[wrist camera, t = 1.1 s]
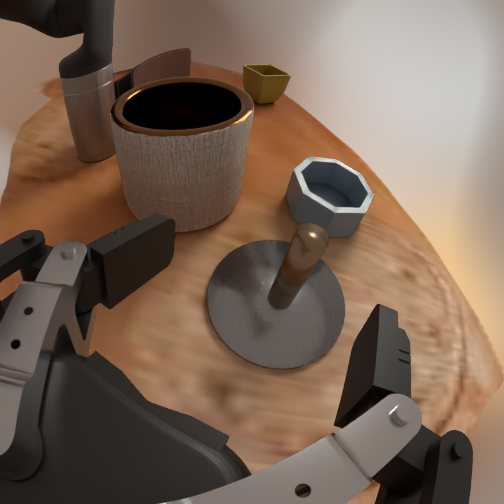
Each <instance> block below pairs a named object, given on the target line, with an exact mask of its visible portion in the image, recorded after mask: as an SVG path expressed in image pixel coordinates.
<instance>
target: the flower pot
mask: <svg viewBox="0 0 504 504" xmlns="http://www.w3.org/2000/svg"><path fill="white" fill-rule="evenodd" d="M290 76H291V75H290V74H288V73H287V72H285V71H282V70H281V69H279V68H277V67H275V66H273V65H271V64H257V65H256V64H254V65H243V85H244V88H245V91H246V92H247V93H248V94H249V95H250V97H251V98H252V100H254V101H255V102H257V103H258V104H262V103H271V102H275V101H276V100H277V99H279V98H280V97H281V95H282V94H283V93H284V91H285V89H286V87H287V84H288V82H289V80H290Z"/></svg>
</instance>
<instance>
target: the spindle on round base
mask: <svg viewBox="0 0 504 504" xmlns="http://www.w3.org/2000/svg"><path fill="white" fill-rule="evenodd" d="M328 244H329V237H328V235H327V233H326V232H325V230H324V229H323V228H321V227H320V226H318V225H316V224H313V223H303V224H301V225H299V226H298V227H297V229H296V231H295V233H294V236H293V238H292V240H291V243H288V242H284V241H276V240H263V241H256V242H251V243H248V244H245V245H243V246H241V247H239V248H237V249H235V250H233V251H232V252H230V253H229V254H228V255H227V256H226V257H225V258H223V260H222V261H221V262H220V263H219V264H218V266H217V267H216V269H215V270H214V272H213V275H212V277H211V279H210V283H209V287H208V295H207V302H208V311H209V316H210V319H211V322H212V325H213V327H214V329H215V331H216V333H217V334H218V336H219V337H220V339H221V340H222V341H223V342H224V344H225V345H226V346H227V347H228V348H229V349H230V350H232V351H233V352H234V353H235V354H236V355H238V356H239V357H241V358H243V359H244V360H246V361H248V362H250V363H252V364H255V365H258V366H261V367H265V368H271V369H292V368H297V367H301V366H304V365H306V364H309V363H311V362H313V361H314V360H316V359H318V358H319V357H321V356H322V355H323V354H325V353H326V352H327V351H328V350H329V349H330V348H331V347H332V346H333V344H334V343H335V341H336V340H337V338H338V336H339V334H340V332H341V330H342V327H343V323H344V317H345V303H344V297H343V293H342V290H341V287H340V285H339V282H338V281H337V279H336V277H335V275H334V274H333V272H332V271H331V270H330V268H329V267H328V266H327V265H326V264H325V263H324V262H323V261H322V260H321V259H320V258H321V256H322V254H323V253H324V251H325V249H326V248H327V246H328Z"/></svg>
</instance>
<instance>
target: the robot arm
mask: <svg viewBox="0 0 504 504" xmlns="http://www.w3.org/2000/svg"><path fill="white" fill-rule="evenodd" d="M114 3H115V0H0V18H1V19H5V20H10V21H14V22H19V23H22V24H25V25H27V26H30V27H32V28H34V29H36V30H38V31H40V32H42V33H44V34H46V35H48V36H51V37H54V38H63V37H68V36H72V35H76V34H81V33H84V37H83V44H82V45H81V47H80V48H79V49H77V50H76V51H75V52H73V53H71V54H70V55H68V56H67V57H65V58H64V59H63V60H61V62H60V64H59V73H60V79H61V85H62V91H63V96H64V101H65V106H66V110H67V115H68V119H69V123H70V128H71V132H72V136H73V139H74V143H75V147H76V151H77V154H78V157H79V159H80V160H82V161H85V162H95V161H100V160H103V159H105V158H108V157H109V156H111V155H113V154H114V153H115V152H116V149H115V143H114V138H113V131H112V125H111V118H110V111H111V107H112V105H113V104H114V102H115V101H116V99H115V89H114V79H113V70H112V47H113V19H114ZM175 227H176V224H175V221H174V219H172V218H169V217H167V216H164V215H162V214H159V213H155V214H153V215H151V216H149V217H147V218H145V219H143V220H140V221H136V222H131V223H129V224H127V225H125V226H123V227H121V229H120V228H119V229H117V230H115V231H114V232H113V233H112V232H111V233H109V234H107V235H105V236H103V237H101V238H99V239H97V240H95V241H93V242H92V243H90V244H88V245H84V244H83V243H81V242H77V241H68V242H64V243H61V244H59V245H57V246H56V247H51V246H48V245H45V239H44V234H43V232H41V231H39V230H28V231H25V232H22V233H20V234H19V235H17V236H15V237H13V238H11V239H10V240H8V241H6V242H4V243H2V244H1V245H0V282H1V281H3V280H4V279H5V278H7V277H8V276H10V275H11V274H13V273H14V272H16V271H18V270H19V269H20V272H21V275H22V279H23V281H22V282H21V283H20V285H19V286H18V288H17V290H16V291H14V292H13V293H12V294H10V295H9V296H8V297H6V298H5V299H3V300H2V301H1V300H0V504H346V503H347V502H349V501H350V500H351V499H353V498H354V497H355V496H356V495H358V494H359V493H360V492H361V491H363V490H364V489H365V488H366V487H367V486H368V485H369V484H370V483H371V482H372V479H373V480H375V481H376V482H378V483H380V484H381V485H380V488H379V491H378V495H377V498H376V501H375V504H469V496H470V489H471V478H472V461H473V450H472V445H471V443H470V441H469V439H468V437H467V436H466V435H465V434H464V433H462V432H460V431H457V430H452V431H449V432H447V433H446V434H444V435H443V436H442V437H440V436H439V435H437V434H436V433H434V432H432V431H431V430H429V429H428V428H426V427H425V426H423V425H422V416H421V412H420V410H419V408H418V406H417V405H416V403H415V402H414V401H413V400H412V399H411V365H410V363H411V356H410V341H409V339H408V337H407V334H406V332H405V330H403V329H401V328H398V313H397V311H395V310H393V309H390V308H388V307H385V306H383V305H381V304H377V305H376V306H375V308H374V309H373V311H372V313H371V314H370V316H369V318H368V319H367V321H366V323H365V324H364V326H363V328H362V329H361V331H360V332H359V334H358V336H357V338H356V340H355V342H354V344H353V347H352V350H351V355H350V360H349V365H348V370H347V374H346V379H345V383H344V388H343V392H342V396H341V400H340V404H339V408H338V411H337V415H336V419H335V422H334V426H337V427H340V428H343V429H341V430H340V431H338V432H337V433H335V434H334V433H332V434H330V435H328V436H326V437H324V438H323V439H321V440H319V441H317V442H316V443H314V444H312V445H311V446H309V447H307V448H305V449H304V450H302V451H300V452H298V453H296V454H294V455H293V456H291V457H289V458H287V459H285V460H283V461H281V462H279V463H277V464H275V465H273V466H271V467H268V468H266V469H264V470H262V471H260V472H258V473H255V474H253V475H252V474H251V473H250V471H249V469H248V468H247V466H246V465H245V464H244V462H243V461H242V460H241V458H240V457H239V456H238V455H237V454H236V453H235V452H234V451H233V450H231V449H230V448H229V447H228V446H227V445H226V443H227V441H228V439H229V436H228V435H226V434H224V433H222V432H220V431H218V430H216V429H214V428H212V427H210V426H209V425H207V424H205V423H203V422H201V421H199V420H197V419H196V418H194V417H192V416H189V415H186V414H183V413H180V412H177V411H174V410H171V409H168V408H165V407H162V406H159V405H157V404H154V403H151V402H149V401H148V400H146V399H145V398H144V397H143V395H142V394H141V393H140V392H139V391H138V390H137V389H136V387H135V386H134V385H133V384H132V383H131V381H130V380H129V379H128V378H127V377H126V375H125V374H124V373H123V372H122V371H121V370H120V369H118V368H117V367H116V366H114V365H113V364H112V363H110V362H109V361H108V360H107V359H105V358H104V357H103V356H102V355H100V354H99V353H98V352H97V351H95V352H94V353H93V354H92V355H90V356H89V345H90V340H91V335H92V330H93V325H94V321H95V316H96V311H97V309H96V305H97V304H98V303H101V304H103V305H104V306H106V307H107V308H108V309H112V308H113V307H114V306H115V305H117V304H118V303H119V302H121V301H122V300H123V299H125V298H126V297H127V296H129V295H130V294H131V293H133V292H134V291H135V290H137V289H138V288H139V287H141V286H142V285H143V284H145V283H146V282H147V281H149V280H150V279H151V278H153V277H154V276H155V275H157V274H158V273H160V272H161V271H162V270H164V269H165V268H166V267H167V266H168V265H169V264H170V262H171V260H172V257H173V252H174V239H175Z"/></svg>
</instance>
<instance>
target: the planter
mask: <svg viewBox="0 0 504 504" xmlns="http://www.w3.org/2000/svg"><path fill="white" fill-rule="evenodd" d="M253 112H254V102H253V100H252V98H251V97H250V95H249V94H248V93H247V92H245V91H244V90H242V89H241V88H239V87H237V86H235V85H233V84H230V83H228V82H224V81H221V80H217V79H211V78H204V77H172V78H165V79H160V80H155V81H152V82H148V83H145V84H142V85H140V86H137V87H135V88H133V89H131V90H129V91H127V92H126V93H124V94H123V95H122V96H120V97H119V98H118V99H117V100H116V101H115V102H114V104H113V105H112V107H111V111H110V118H111V125H112V131H113V138H114V143H115V149H116V155H117V161H118V166H119V171H120V177H121V182H122V186H123V191H124V195H125V199H126V202H127V205H128V207H129V209H130V211H131V212H132V214H133V215H134V216H135V217H136V218H137V219H138V220H139V221H140V220H143V219H145V218H147V217H149V216H151V215H153V214H155V213H159V214H162V215H164V216H167V217H169V218H172V219H174V221H175V224H176V227H175V232H190V231H196V230H200V229H203V228H206V227H209V226H211V225H214V224H216V223H217V222H219V221H221V220H222V219H224V218H225V217H226V216H227V215H229V214H230V213H231V211H232V210H233V209H234V208H235V206H236V204H237V202H238V200H239V197H240V194H241V189H242V183H243V176H244V170H245V162H246V156H247V149H248V142H249V136H250V130H251V124H252V118H253Z"/></svg>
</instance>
